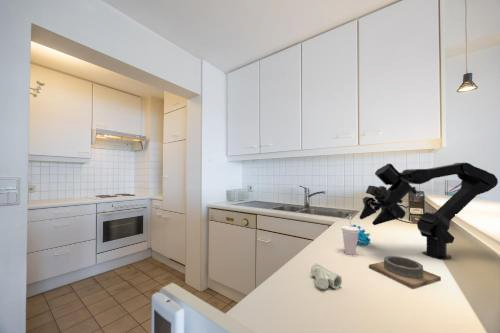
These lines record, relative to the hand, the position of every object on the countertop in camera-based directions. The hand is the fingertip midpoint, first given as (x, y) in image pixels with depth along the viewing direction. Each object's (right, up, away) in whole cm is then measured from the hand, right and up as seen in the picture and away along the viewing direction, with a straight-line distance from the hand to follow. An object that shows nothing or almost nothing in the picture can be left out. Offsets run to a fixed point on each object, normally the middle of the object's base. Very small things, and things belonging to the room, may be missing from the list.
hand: (366, 221), depth 80 cm
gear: (+4, -13, +12) cm, 18 cm away
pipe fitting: (-25, -12, -22) cm, 36 cm away
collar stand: (+2, -12, -16) cm, 20 cm away
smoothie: (-6, -13, 0) cm, 14 cm away
